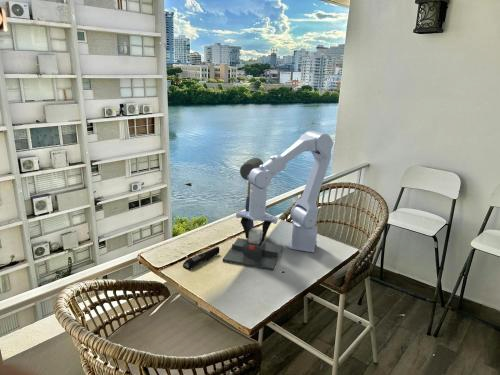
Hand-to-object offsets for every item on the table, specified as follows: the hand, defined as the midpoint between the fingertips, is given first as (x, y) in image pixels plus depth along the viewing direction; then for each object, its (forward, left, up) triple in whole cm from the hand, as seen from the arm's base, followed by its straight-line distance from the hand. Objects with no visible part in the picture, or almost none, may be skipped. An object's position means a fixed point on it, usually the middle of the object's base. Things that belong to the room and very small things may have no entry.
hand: (255, 238), depth 128 cm
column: (0, 0, -5) cm, 5 cm away
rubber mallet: (+8, -21, -6) cm, 23 cm away
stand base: (0, 0, -6) cm, 6 cm away
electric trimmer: (+16, +11, -7) cm, 20 cm away
